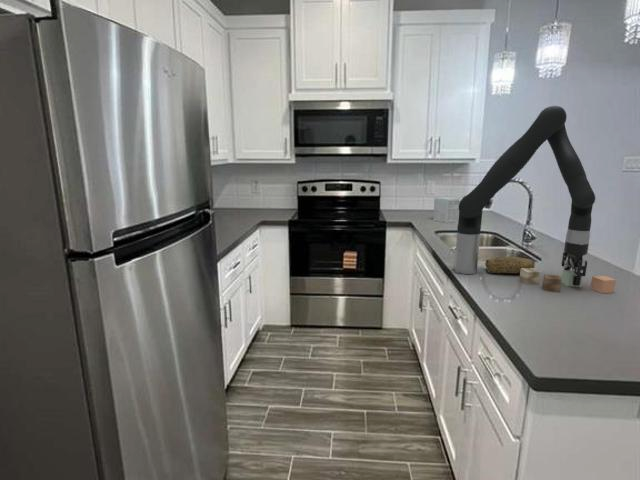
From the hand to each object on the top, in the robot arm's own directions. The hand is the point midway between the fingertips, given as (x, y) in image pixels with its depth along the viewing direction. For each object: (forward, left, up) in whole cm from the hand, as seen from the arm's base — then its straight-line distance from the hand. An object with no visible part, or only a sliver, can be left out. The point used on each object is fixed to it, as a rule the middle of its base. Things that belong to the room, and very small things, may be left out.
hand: (571, 281), depth 150 cm
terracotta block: (+8, -6, -1) cm, 10 cm away
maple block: (-15, +1, -1) cm, 15 cm away
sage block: (0, 0, -1) cm, 1 cm away
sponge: (-18, +14, -1) cm, 23 cm away
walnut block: (-10, -7, -1) cm, 12 cm away
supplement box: (-25, +139, -1) cm, 141 cm away
